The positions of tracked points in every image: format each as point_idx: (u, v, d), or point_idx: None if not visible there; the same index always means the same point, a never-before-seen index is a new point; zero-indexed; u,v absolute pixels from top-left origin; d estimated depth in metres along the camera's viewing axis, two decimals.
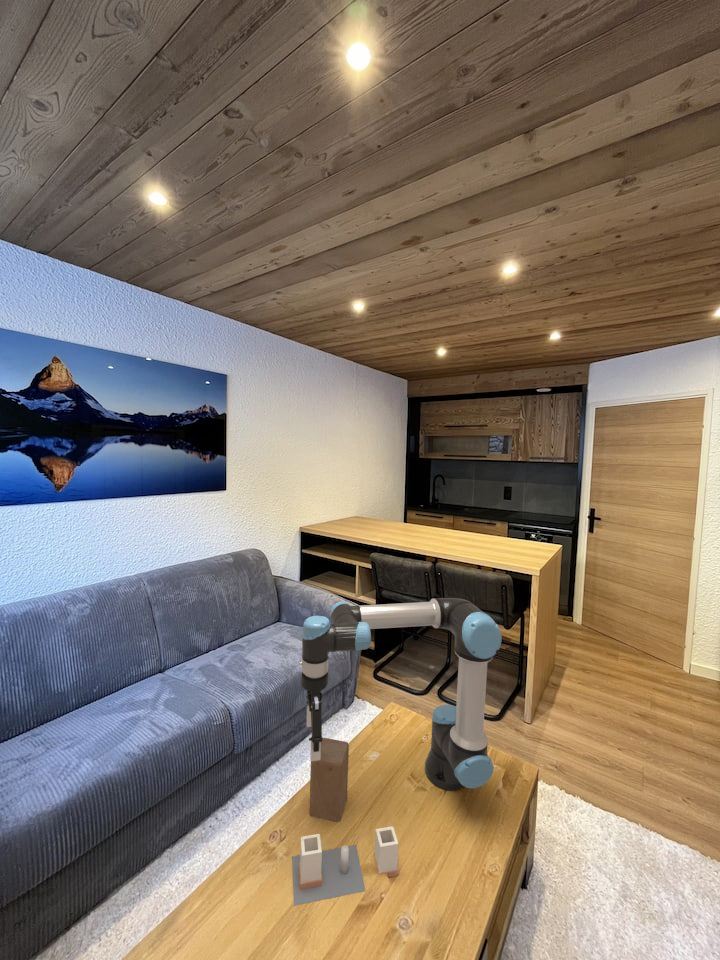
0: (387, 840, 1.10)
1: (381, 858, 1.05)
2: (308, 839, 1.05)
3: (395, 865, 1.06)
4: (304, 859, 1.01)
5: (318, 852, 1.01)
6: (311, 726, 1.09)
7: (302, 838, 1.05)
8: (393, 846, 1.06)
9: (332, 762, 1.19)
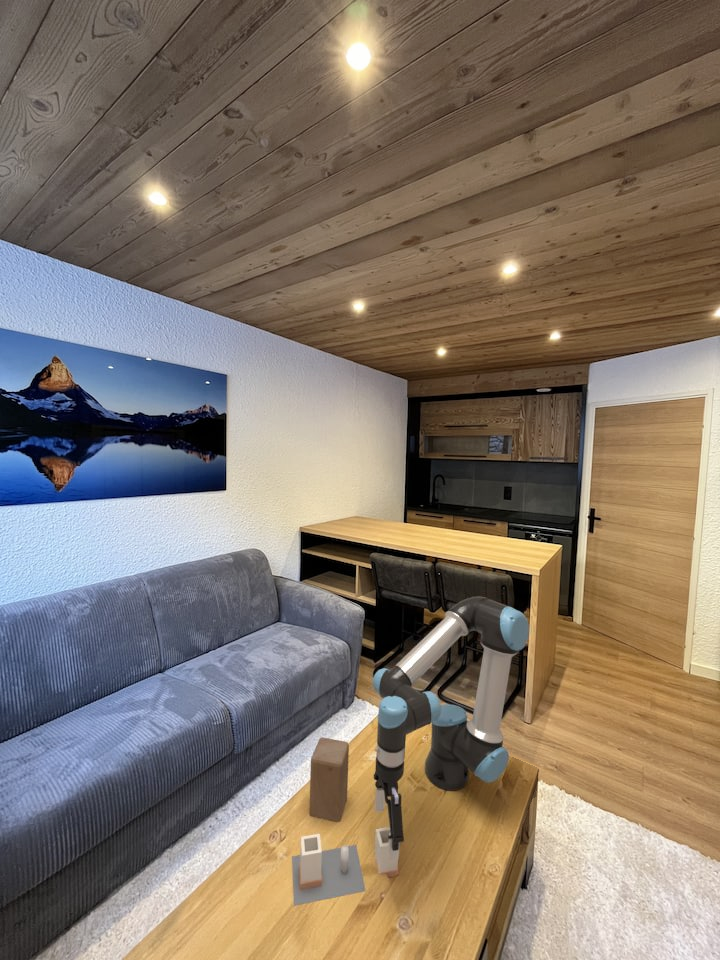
0: (387, 840, 1.10)
1: (381, 858, 1.05)
2: (308, 839, 1.05)
3: (395, 865, 1.06)
4: (304, 859, 1.01)
5: (318, 852, 1.01)
6: (389, 821, 1.01)
7: (302, 838, 1.05)
8: None
9: (332, 762, 1.19)
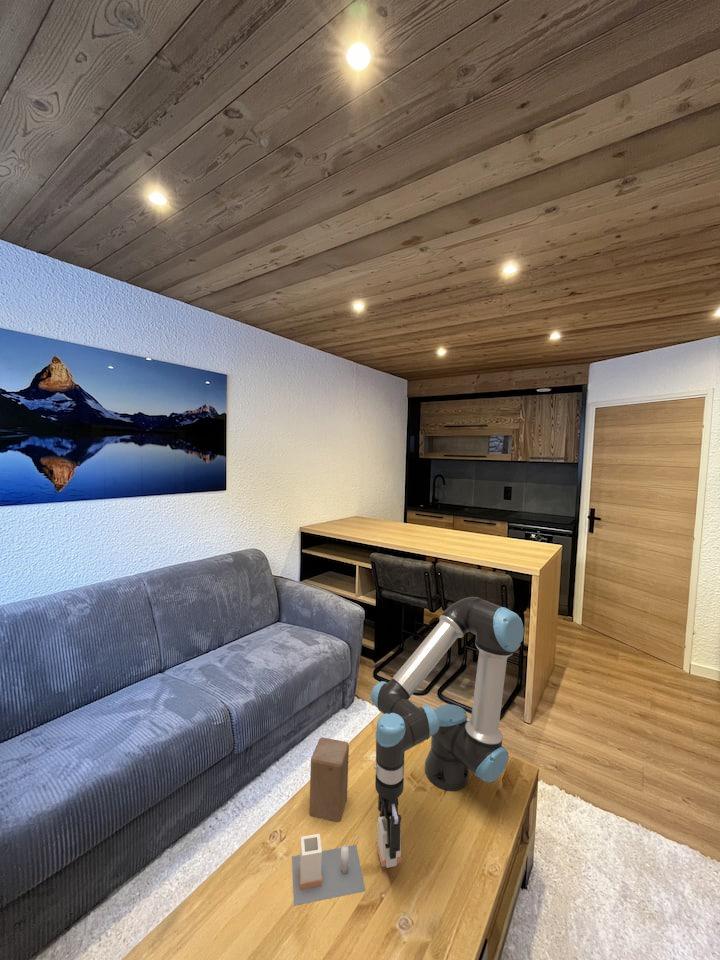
0: None
1: (384, 846, 1.05)
2: (308, 839, 1.05)
3: (398, 852, 1.06)
4: (304, 859, 1.01)
5: (318, 852, 1.01)
6: (387, 832, 1.05)
7: (302, 838, 1.05)
8: None
9: (332, 762, 1.19)
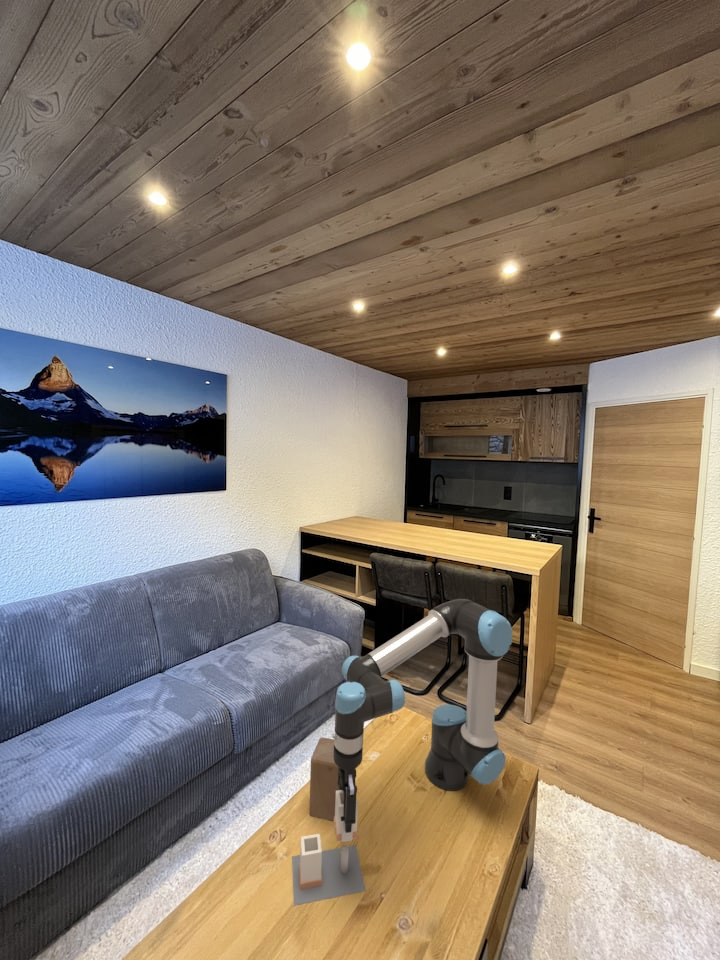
0: None
1: (340, 819, 1.02)
2: (308, 839, 1.05)
3: (354, 826, 1.03)
4: (304, 859, 1.01)
5: (318, 852, 1.01)
6: None
7: (302, 838, 1.05)
8: None
9: (332, 762, 1.19)
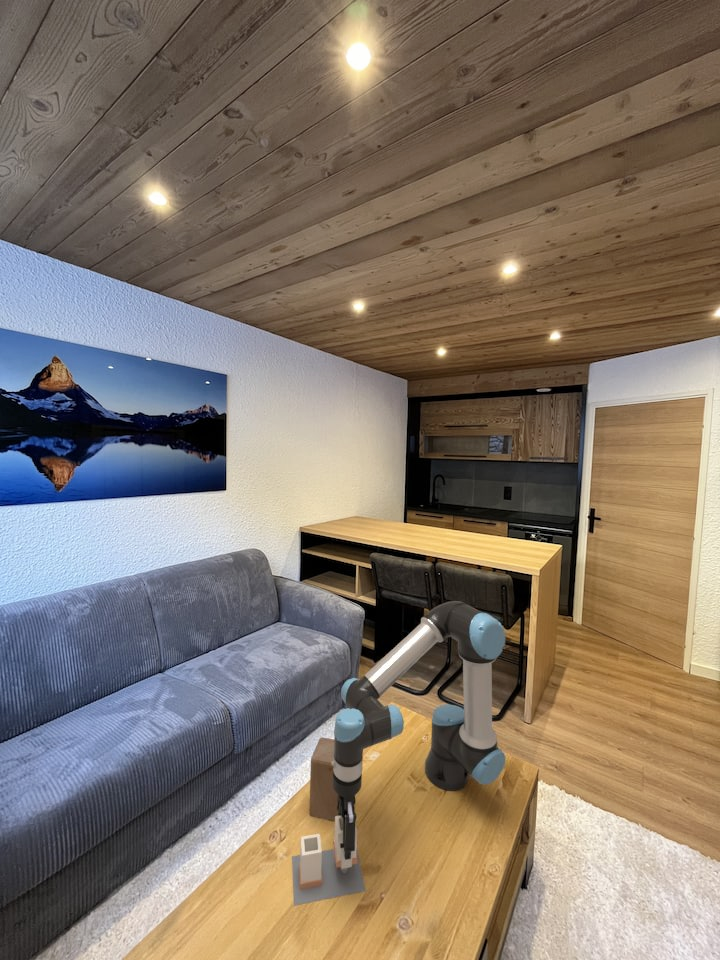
0: None
1: (339, 845, 1.02)
2: (308, 839, 1.05)
3: (354, 853, 1.03)
4: (304, 859, 1.01)
5: (318, 852, 1.01)
6: (343, 831, 1.02)
7: (302, 838, 1.05)
8: None
9: None
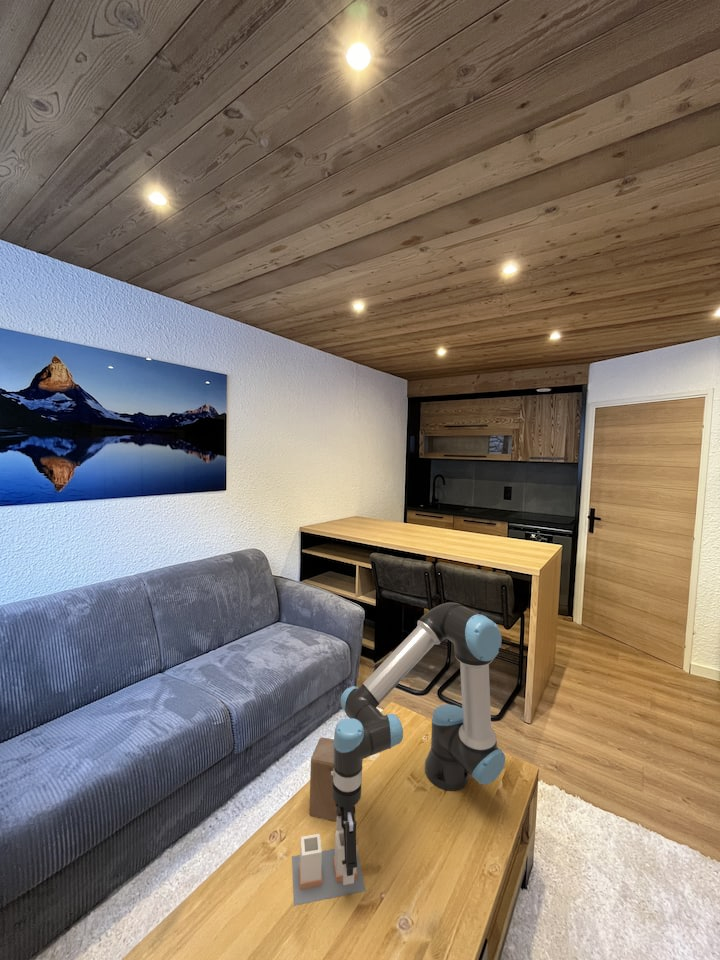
0: None
1: (339, 861, 1.03)
2: (308, 839, 1.05)
3: None
4: (304, 859, 1.01)
5: (318, 852, 1.01)
6: (344, 846, 1.00)
7: (302, 838, 1.05)
8: None
9: (332, 762, 1.19)
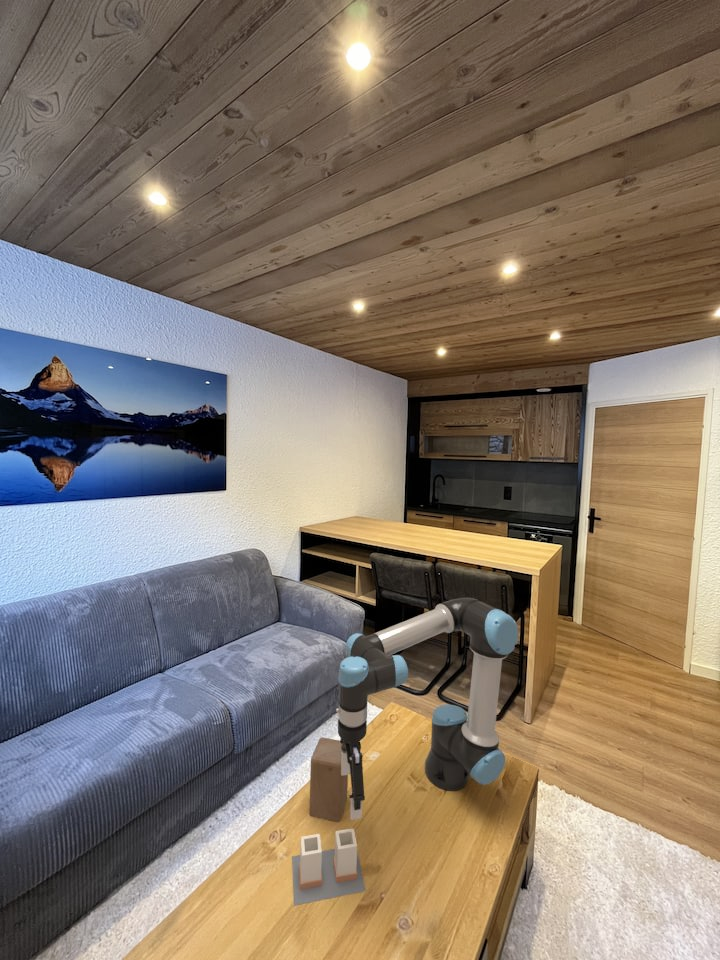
0: (347, 843, 1.07)
1: (339, 861, 1.03)
2: (308, 839, 1.05)
3: (354, 868, 1.04)
4: (304, 859, 1.01)
5: (318, 852, 1.01)
6: (351, 781, 0.99)
7: (302, 838, 1.05)
8: (351, 849, 1.03)
9: (332, 762, 1.19)
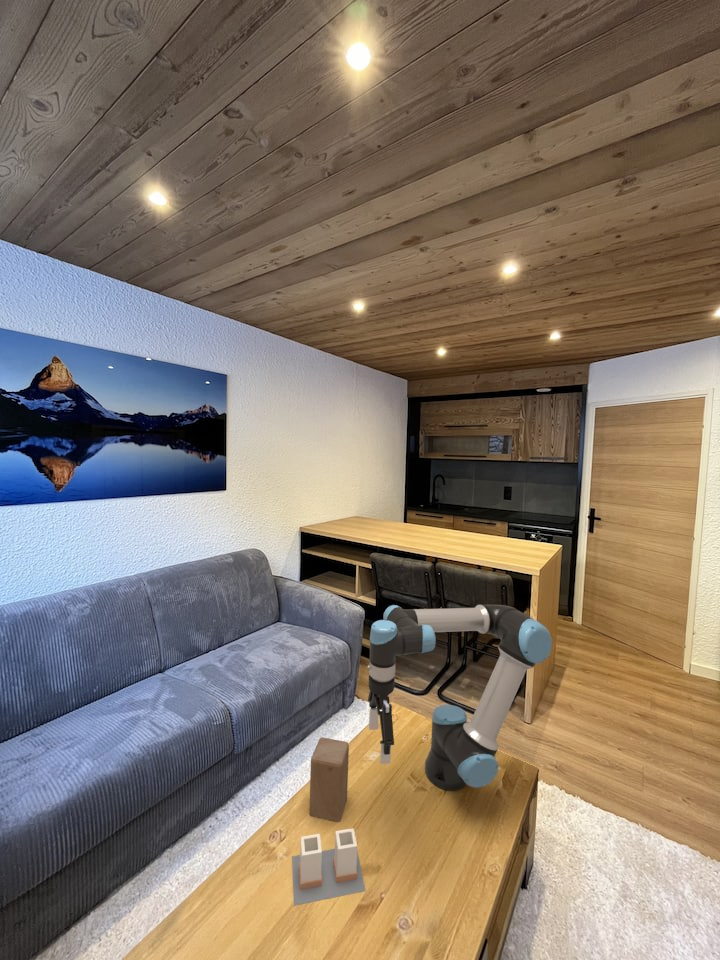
0: (347, 843, 1.07)
1: (339, 861, 1.03)
2: (308, 839, 1.05)
3: (354, 868, 1.04)
4: (304, 859, 1.01)
5: (318, 852, 1.01)
6: (381, 729, 1.11)
7: (302, 838, 1.05)
8: (351, 849, 1.03)
9: (332, 762, 1.19)
